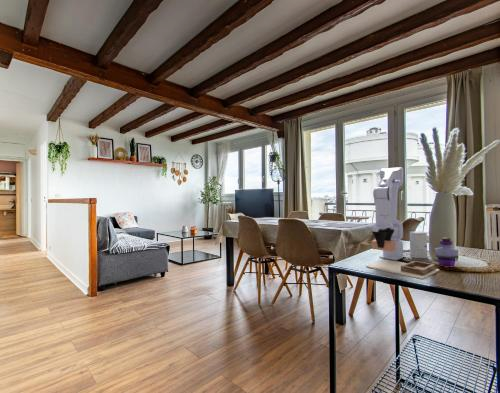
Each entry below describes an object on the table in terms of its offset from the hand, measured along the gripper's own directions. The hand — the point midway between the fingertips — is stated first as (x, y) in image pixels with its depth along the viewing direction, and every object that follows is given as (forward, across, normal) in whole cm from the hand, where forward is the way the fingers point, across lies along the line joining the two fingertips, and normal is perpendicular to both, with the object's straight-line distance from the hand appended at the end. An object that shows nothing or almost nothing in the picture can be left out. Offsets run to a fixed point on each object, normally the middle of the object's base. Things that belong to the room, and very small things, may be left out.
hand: (383, 246), depth 117 cm
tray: (+8, +2, -12) cm, 15 cm away
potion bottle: (+9, +18, -18) cm, 27 cm away
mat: (+9, +2, -6) cm, 11 cm away
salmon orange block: (+1, 0, 0) cm, 1 cm away
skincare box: (+9, +27, -4) cm, 28 cm away
